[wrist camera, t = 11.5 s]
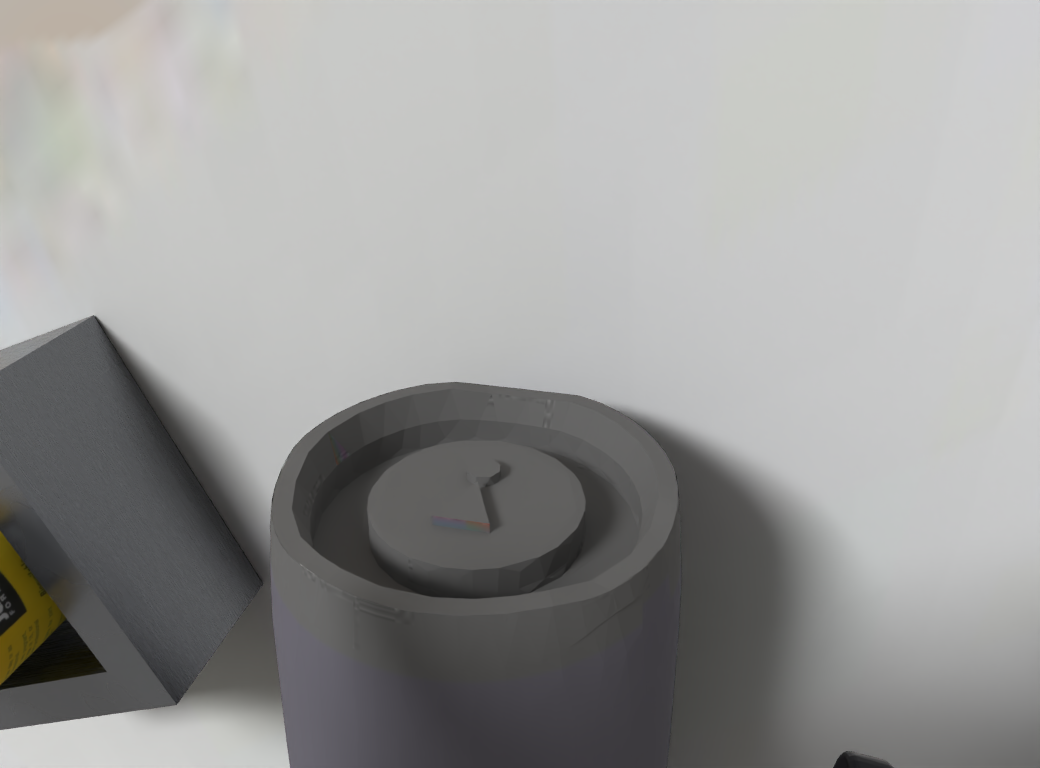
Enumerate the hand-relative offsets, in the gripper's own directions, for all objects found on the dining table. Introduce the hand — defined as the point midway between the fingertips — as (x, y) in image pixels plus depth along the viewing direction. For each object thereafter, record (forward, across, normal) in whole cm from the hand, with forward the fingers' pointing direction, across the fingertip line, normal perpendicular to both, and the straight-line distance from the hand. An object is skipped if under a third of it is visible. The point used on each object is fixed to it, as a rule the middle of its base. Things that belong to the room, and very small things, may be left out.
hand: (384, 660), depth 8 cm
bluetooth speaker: (+13, -1, +14) cm, 20 cm away
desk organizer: (+13, +19, +13) cm, 26 cm away
